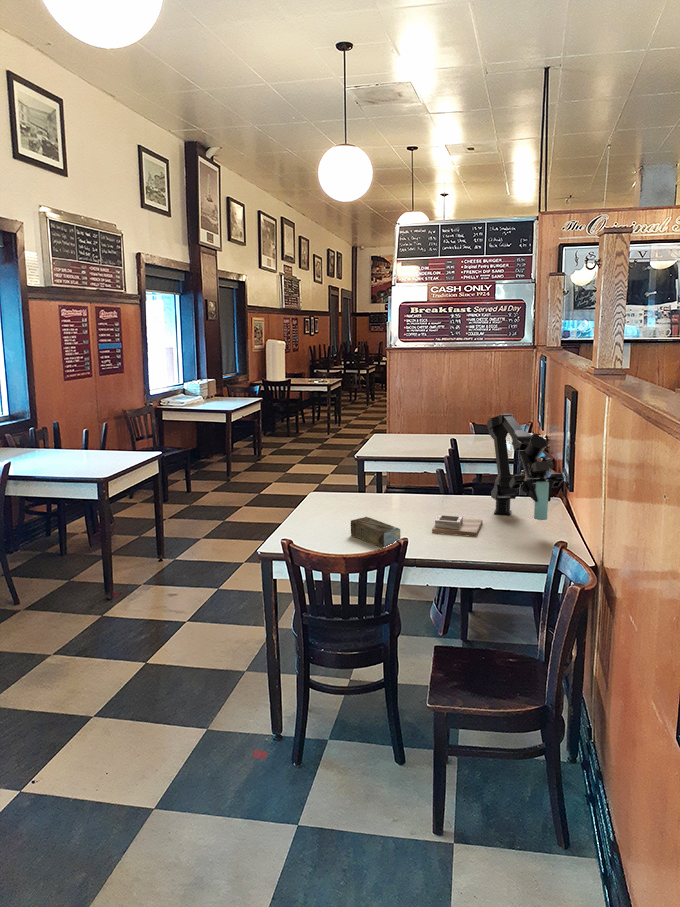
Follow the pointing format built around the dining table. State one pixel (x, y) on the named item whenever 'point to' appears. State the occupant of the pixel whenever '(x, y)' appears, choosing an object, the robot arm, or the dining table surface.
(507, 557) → the dining table surface
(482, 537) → the dining table surface
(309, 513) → the dining table surface
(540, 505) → the post
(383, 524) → the beverage carton
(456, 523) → the base board
